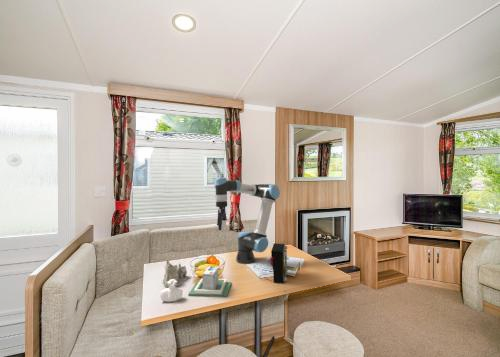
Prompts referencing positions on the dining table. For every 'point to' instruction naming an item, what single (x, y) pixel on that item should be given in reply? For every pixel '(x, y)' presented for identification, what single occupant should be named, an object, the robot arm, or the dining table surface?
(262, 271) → the dining table surface
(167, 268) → the ceramic cottage
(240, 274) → the dining table surface
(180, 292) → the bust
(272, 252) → the electrical component
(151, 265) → the dining table surface
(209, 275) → the light bulb box
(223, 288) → the board
